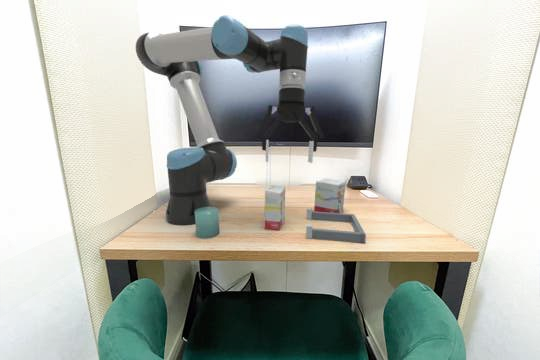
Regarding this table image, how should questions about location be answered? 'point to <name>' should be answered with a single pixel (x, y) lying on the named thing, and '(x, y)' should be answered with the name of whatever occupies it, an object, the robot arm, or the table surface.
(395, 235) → the table surface
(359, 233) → the u-shaped handle bar
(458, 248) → the table surface
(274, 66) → the robot arm
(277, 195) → the ink box
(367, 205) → the table surface
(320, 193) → the ink box
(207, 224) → the teal rounded cylinder
